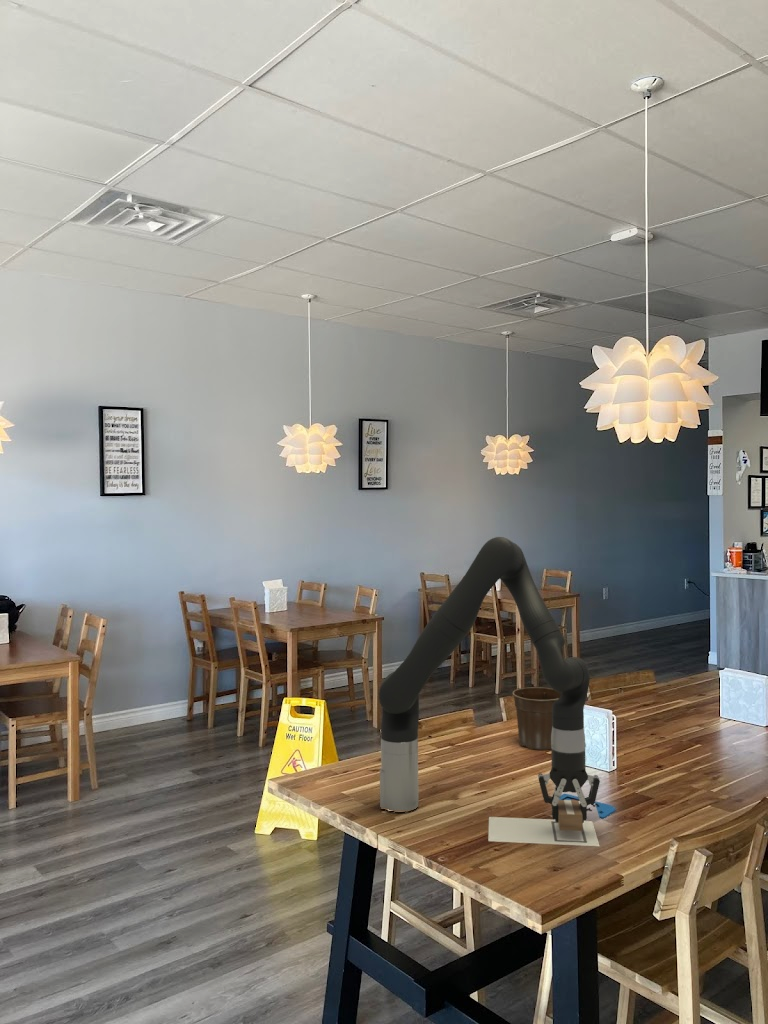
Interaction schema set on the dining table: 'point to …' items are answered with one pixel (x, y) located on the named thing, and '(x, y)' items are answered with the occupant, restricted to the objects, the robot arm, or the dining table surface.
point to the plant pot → (535, 716)
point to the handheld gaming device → (602, 808)
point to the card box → (570, 815)
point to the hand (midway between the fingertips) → (569, 820)
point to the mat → (539, 832)
